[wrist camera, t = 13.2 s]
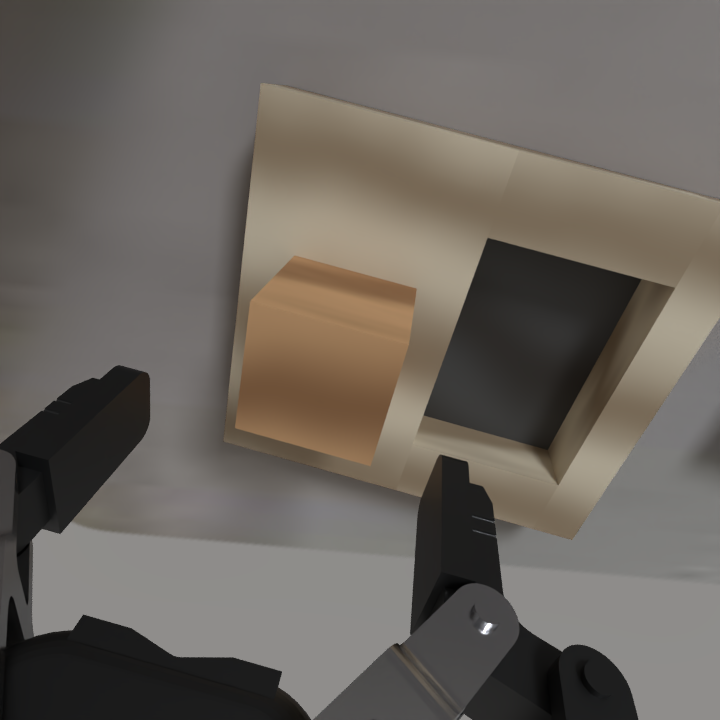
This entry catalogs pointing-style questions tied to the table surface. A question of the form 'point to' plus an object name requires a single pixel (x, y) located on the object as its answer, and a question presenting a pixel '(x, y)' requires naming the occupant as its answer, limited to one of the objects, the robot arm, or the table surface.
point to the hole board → (487, 296)
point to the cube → (324, 358)
